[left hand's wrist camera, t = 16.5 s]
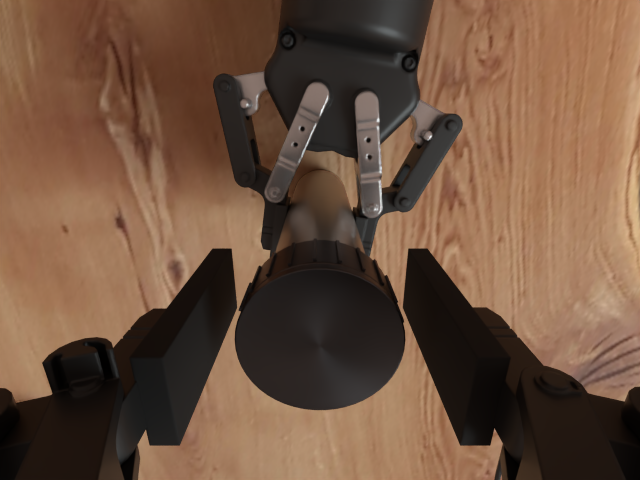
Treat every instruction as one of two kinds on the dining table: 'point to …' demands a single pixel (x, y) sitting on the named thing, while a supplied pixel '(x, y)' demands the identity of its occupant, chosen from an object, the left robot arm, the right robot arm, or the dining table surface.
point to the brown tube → (320, 212)
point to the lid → (320, 326)
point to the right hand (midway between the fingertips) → (312, 259)
